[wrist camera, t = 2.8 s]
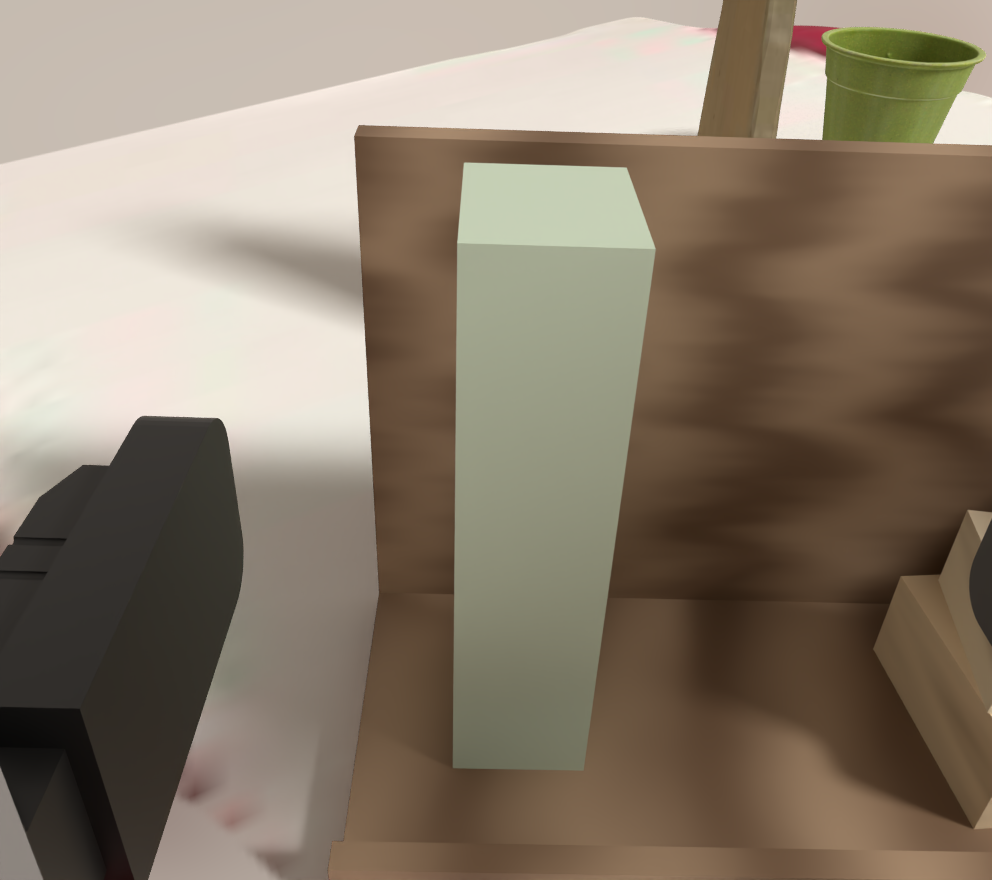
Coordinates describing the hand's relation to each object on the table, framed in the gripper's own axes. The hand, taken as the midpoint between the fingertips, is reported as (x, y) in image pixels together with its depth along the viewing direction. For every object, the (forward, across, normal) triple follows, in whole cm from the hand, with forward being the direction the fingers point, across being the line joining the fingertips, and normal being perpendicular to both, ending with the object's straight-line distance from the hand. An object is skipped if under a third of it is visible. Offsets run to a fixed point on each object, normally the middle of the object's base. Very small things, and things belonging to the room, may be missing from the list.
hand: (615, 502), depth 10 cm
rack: (+12, -7, +20) cm, 24 cm away
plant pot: (+68, -30, +19) cm, 77 cm away
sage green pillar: (+13, 0, +18) cm, 22 cm away
